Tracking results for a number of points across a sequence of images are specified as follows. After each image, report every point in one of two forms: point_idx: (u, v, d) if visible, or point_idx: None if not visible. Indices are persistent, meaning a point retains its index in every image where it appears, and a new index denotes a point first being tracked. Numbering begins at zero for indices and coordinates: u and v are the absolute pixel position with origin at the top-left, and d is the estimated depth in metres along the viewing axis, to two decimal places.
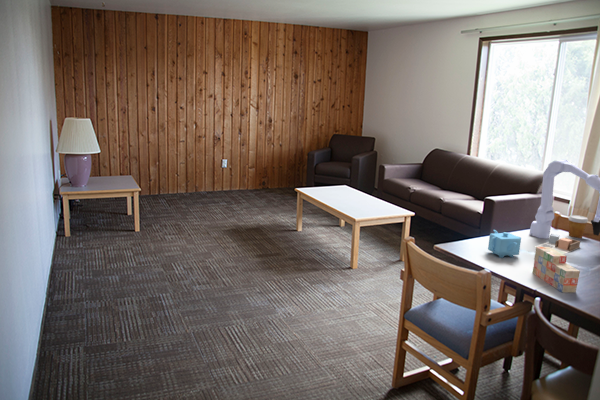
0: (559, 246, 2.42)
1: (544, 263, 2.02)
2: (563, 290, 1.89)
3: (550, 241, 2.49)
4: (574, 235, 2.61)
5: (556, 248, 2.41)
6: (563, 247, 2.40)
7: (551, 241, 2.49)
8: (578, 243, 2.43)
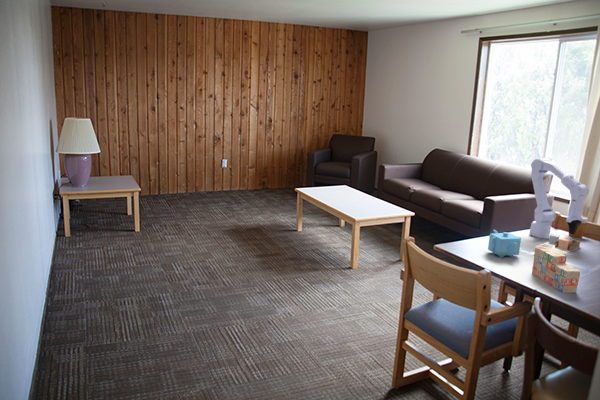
0: (559, 246, 2.42)
1: (543, 263, 2.01)
2: (564, 290, 1.89)
3: (550, 241, 2.49)
4: (574, 235, 2.61)
5: (556, 248, 2.41)
6: (563, 247, 2.40)
7: (551, 241, 2.49)
8: (578, 243, 2.43)
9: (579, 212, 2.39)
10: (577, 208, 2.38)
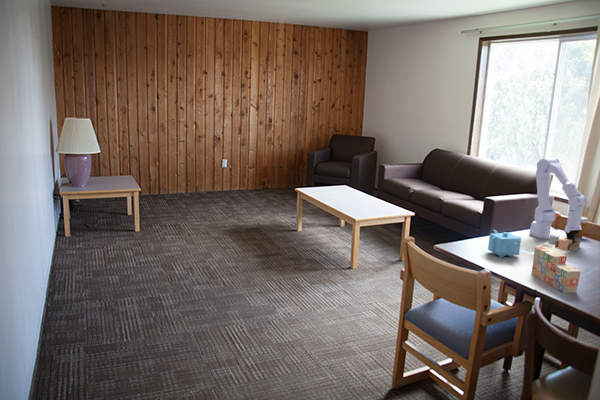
0: (559, 246, 2.42)
1: (543, 263, 2.01)
2: (564, 290, 1.89)
3: (550, 241, 2.49)
4: None
5: (556, 248, 2.41)
6: (563, 247, 2.40)
7: (551, 241, 2.49)
8: (578, 243, 2.43)
9: (577, 222, 2.40)
10: (575, 218, 2.40)
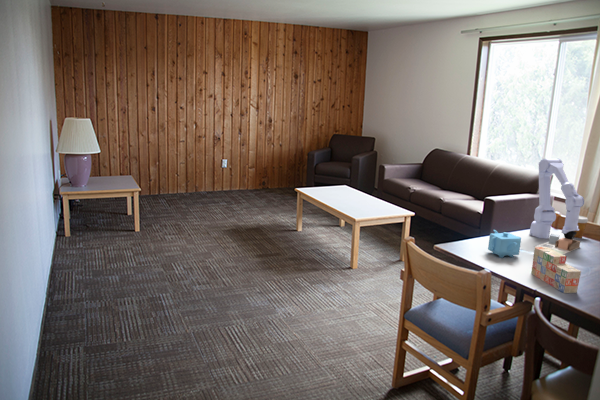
0: (559, 246, 2.42)
1: (543, 263, 2.01)
2: (565, 291, 1.89)
3: (550, 241, 2.49)
4: None
5: (556, 248, 2.41)
6: (563, 247, 2.40)
7: (551, 241, 2.49)
8: (578, 243, 2.43)
9: (575, 223, 2.38)
10: (571, 219, 2.38)
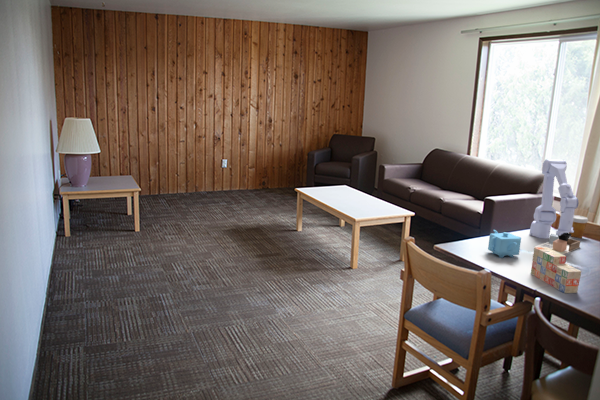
0: (553, 248, 2.38)
1: (543, 264, 2.01)
2: (565, 291, 1.89)
3: (550, 241, 2.49)
4: (574, 235, 2.61)
5: None
6: (557, 249, 2.36)
7: (551, 241, 2.49)
8: (578, 243, 2.43)
9: (569, 225, 2.34)
10: (564, 220, 2.34)
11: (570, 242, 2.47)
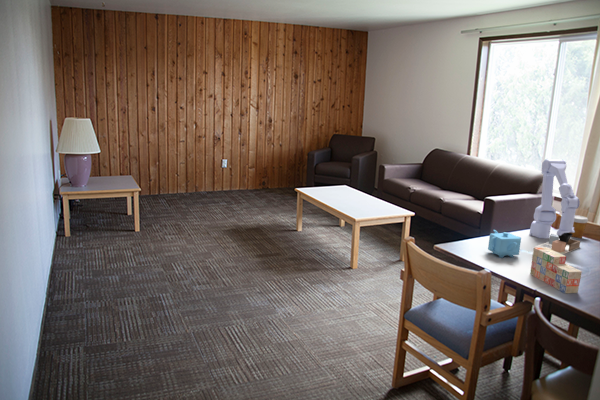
0: (552, 248, 2.37)
1: (543, 264, 2.00)
2: (566, 291, 1.89)
3: (550, 241, 2.49)
4: (574, 235, 2.61)
5: None
6: (556, 249, 2.36)
7: (551, 241, 2.49)
8: (578, 243, 2.43)
9: (570, 225, 2.35)
10: (565, 220, 2.35)
11: (570, 242, 2.47)
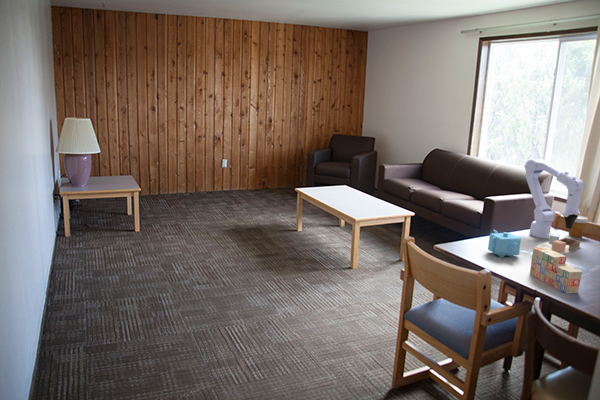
0: (552, 248, 2.37)
1: (543, 264, 2.00)
2: (567, 291, 1.88)
3: (550, 241, 2.49)
4: (574, 235, 2.61)
5: None
6: (556, 249, 2.36)
7: (551, 241, 2.49)
8: (578, 243, 2.43)
9: (576, 206, 2.41)
10: (574, 203, 2.41)
11: (570, 242, 2.47)
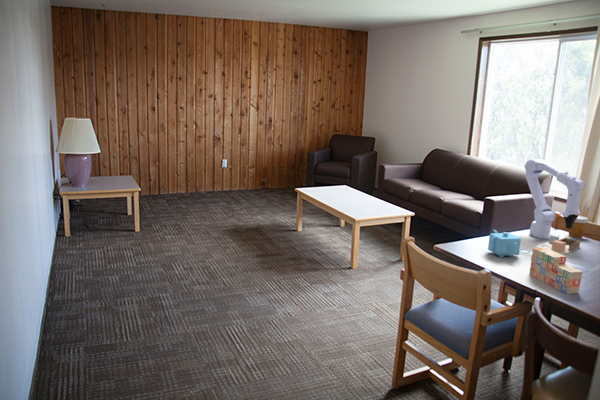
0: (552, 248, 2.37)
1: (543, 264, 2.00)
2: (567, 291, 1.88)
3: (550, 241, 2.49)
4: (574, 235, 2.61)
5: None
6: (556, 249, 2.36)
7: (551, 241, 2.49)
8: (578, 243, 2.43)
9: (576, 206, 2.41)
10: (574, 203, 2.41)
11: (570, 242, 2.47)
